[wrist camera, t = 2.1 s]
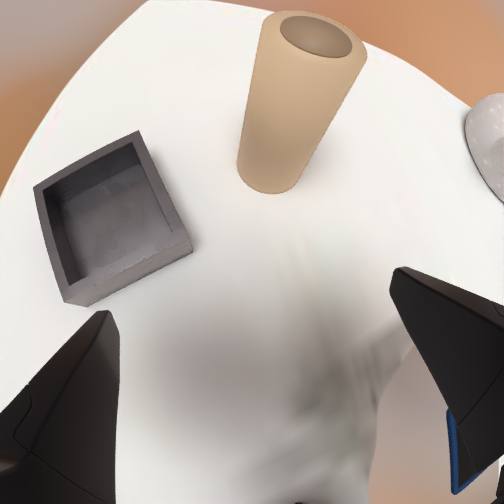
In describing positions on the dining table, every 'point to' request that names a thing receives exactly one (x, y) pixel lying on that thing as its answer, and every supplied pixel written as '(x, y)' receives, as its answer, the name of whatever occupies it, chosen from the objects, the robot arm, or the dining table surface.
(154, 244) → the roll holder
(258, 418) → the dining table surface
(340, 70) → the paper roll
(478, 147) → the teapot
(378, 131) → the dining table surface
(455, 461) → the cell phone
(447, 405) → the robot arm
